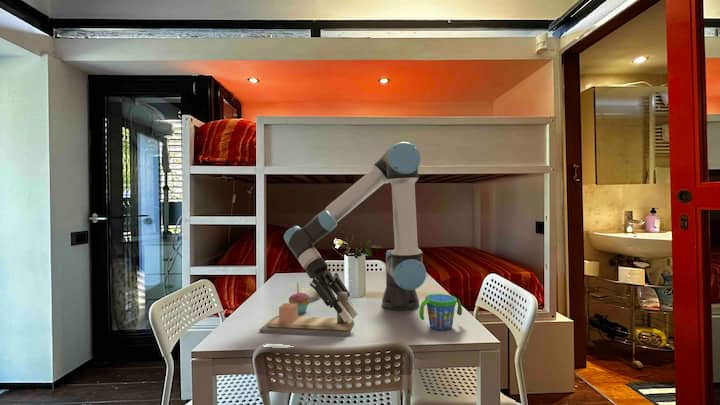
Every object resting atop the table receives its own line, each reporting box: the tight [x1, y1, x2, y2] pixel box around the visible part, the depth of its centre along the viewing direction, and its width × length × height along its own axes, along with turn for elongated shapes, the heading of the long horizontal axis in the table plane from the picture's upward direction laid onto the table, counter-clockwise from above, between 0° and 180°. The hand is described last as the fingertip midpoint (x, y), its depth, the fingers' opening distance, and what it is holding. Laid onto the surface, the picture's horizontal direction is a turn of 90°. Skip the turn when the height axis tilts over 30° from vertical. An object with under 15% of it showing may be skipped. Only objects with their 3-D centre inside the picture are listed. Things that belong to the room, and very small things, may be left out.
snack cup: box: [418, 293, 463, 331], centre depth 128 cm, size 16×10×10 cm
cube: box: [278, 302, 299, 323], centre depth 129 cm, size 5×5×5 cm
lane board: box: [259, 318, 355, 338], centre depth 128 cm, size 30×12×1 cm, turn 81°
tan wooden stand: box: [267, 292, 354, 331], centre depth 128 cm, size 28×8×11 cm, turn 81°
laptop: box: [299, 262, 328, 300], centre depth 174 cm, size 18×12×13 cm
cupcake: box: [288, 281, 311, 314], centre depth 148 cm, size 9×8×12 cm
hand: (351, 317), depth 124 cm, fingers closed on tan wooden stand, 4 cm apart
